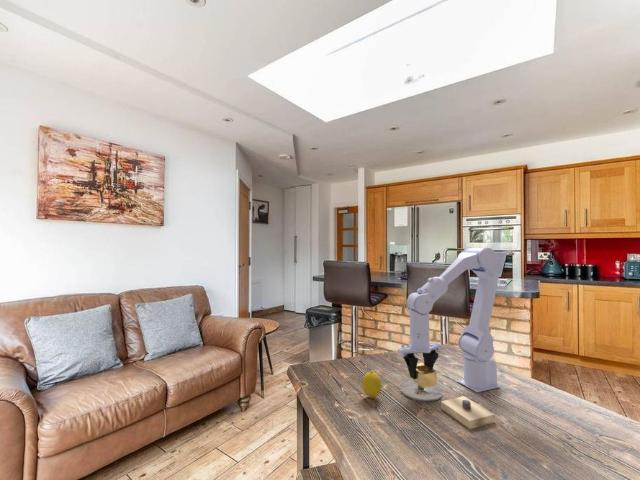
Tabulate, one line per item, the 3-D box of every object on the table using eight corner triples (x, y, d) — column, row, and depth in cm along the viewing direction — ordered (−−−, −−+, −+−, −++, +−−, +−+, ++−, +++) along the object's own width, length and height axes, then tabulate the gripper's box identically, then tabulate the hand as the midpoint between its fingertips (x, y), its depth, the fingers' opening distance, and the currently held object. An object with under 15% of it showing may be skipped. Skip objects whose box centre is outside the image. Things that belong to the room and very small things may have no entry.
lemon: (381, 403, 87) (380, 375, 87) (362, 402, 88) (361, 374, 88) (381, 394, 92) (380, 368, 93) (363, 393, 94) (362, 366, 94)
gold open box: (421, 374, 97) (421, 362, 97) (436, 385, 91) (436, 371, 90) (408, 377, 96) (408, 364, 95) (422, 388, 89) (422, 374, 89)
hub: (424, 380, 101) (424, 368, 101) (450, 397, 90) (450, 383, 90) (393, 386, 97) (393, 374, 97) (417, 404, 86) (416, 390, 86)
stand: (463, 403, 86) (463, 390, 87) (494, 422, 77) (494, 408, 77) (441, 408, 84) (440, 395, 84) (469, 429, 74) (469, 414, 74)
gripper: (407, 338, 88) (408, 385, 88) (447, 333, 92) (448, 377, 92) (393, 332, 94) (394, 376, 94) (432, 327, 99) (433, 369, 99)
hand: (420, 376), depth 94 cm, fingers closed on gold open box, 5 cm apart
